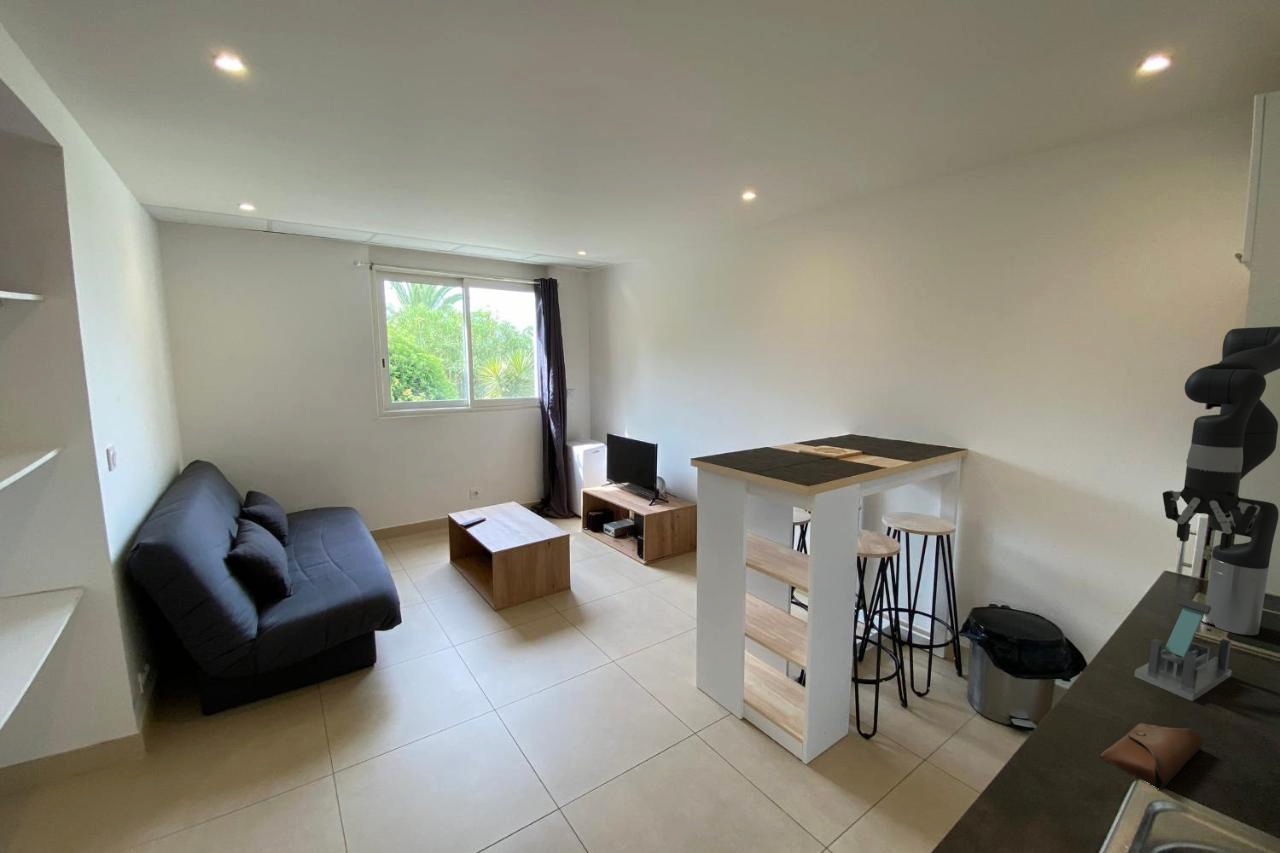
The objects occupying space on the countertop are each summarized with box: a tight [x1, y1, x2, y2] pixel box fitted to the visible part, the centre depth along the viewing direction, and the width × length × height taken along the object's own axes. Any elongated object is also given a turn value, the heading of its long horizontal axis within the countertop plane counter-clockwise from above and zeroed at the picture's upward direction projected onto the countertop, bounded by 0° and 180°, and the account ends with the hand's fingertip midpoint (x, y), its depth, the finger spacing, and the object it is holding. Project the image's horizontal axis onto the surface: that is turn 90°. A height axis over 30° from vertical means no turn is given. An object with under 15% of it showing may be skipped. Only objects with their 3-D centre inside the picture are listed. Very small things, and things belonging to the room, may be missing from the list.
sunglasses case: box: [1100, 722, 1203, 791], centre depth 88 cm, size 18×7×7 cm
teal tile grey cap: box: [1161, 597, 1211, 665], centre depth 107 cm, size 14×4×2 cm
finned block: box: [1134, 638, 1232, 702], centre depth 109 cm, size 18×9×8 cm, turn 115°
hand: (1203, 544), depth 106 cm, fingers open, 5 cm apart
